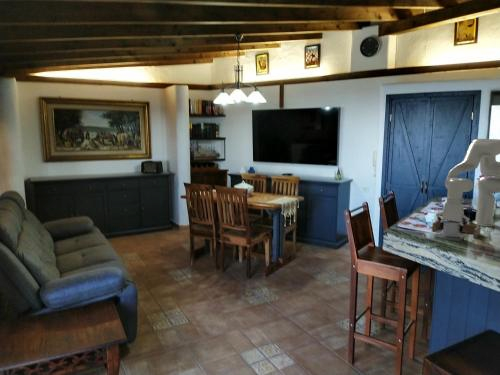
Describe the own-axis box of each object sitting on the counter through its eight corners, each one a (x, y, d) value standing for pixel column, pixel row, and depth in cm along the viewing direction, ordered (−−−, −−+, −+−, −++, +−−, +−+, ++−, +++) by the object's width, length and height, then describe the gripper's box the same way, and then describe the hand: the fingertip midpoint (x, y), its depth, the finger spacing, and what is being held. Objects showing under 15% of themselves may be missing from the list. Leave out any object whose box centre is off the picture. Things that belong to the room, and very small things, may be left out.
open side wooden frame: (436, 227, 241) (437, 219, 240) (478, 234, 227) (479, 226, 226) (432, 231, 232) (432, 223, 231) (475, 238, 217) (476, 230, 217)
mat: (441, 233, 227) (441, 232, 227) (464, 237, 220) (464, 236, 220) (436, 237, 218) (436, 236, 218) (459, 241, 211) (459, 240, 211)
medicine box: (456, 235, 221) (457, 220, 220) (459, 237, 217) (461, 222, 215) (441, 234, 222) (443, 220, 220) (445, 236, 217) (446, 222, 216)
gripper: (472, 202, 213) (469, 231, 216) (439, 198, 224) (436, 226, 227) (470, 204, 207) (466, 234, 210) (436, 200, 218) (433, 229, 221)
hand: (451, 230), depth 219 cm, fingers closed on medicine box, 9 cm apart
